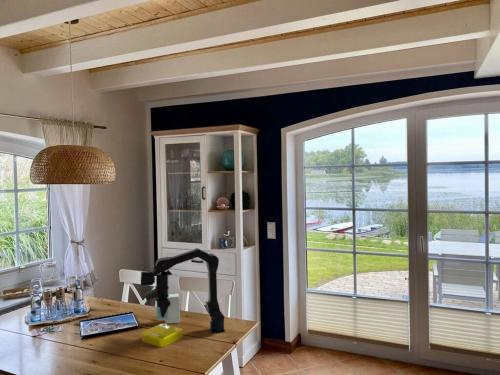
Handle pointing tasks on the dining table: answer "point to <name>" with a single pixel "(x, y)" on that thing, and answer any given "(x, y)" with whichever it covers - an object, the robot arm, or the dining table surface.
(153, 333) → the element tile
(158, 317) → the block
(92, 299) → the dining table surface
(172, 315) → the skincare box
